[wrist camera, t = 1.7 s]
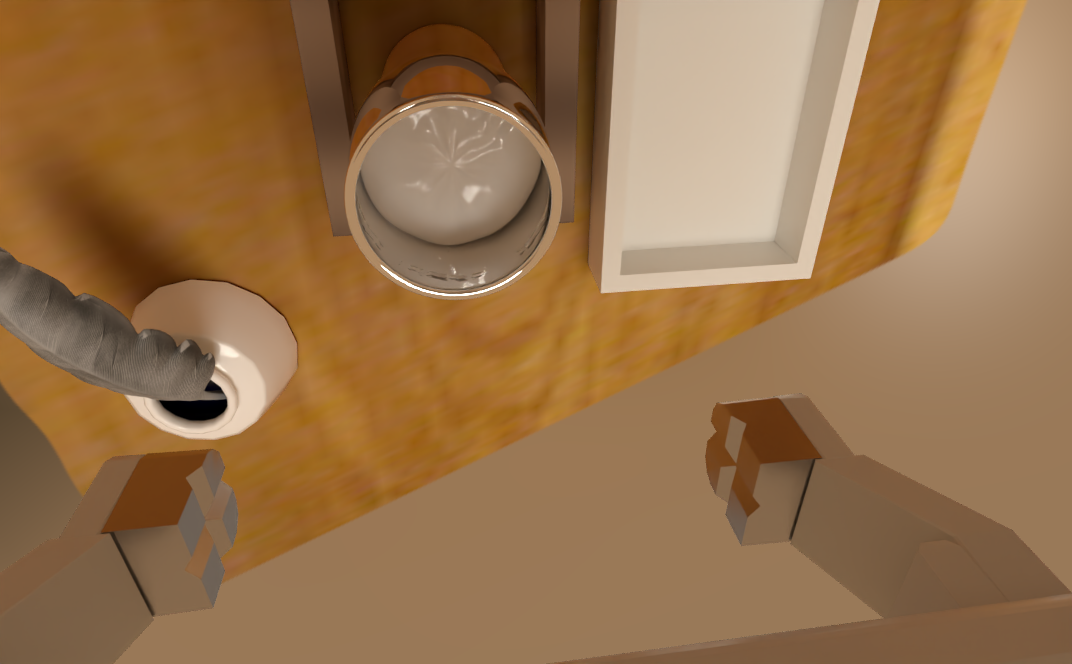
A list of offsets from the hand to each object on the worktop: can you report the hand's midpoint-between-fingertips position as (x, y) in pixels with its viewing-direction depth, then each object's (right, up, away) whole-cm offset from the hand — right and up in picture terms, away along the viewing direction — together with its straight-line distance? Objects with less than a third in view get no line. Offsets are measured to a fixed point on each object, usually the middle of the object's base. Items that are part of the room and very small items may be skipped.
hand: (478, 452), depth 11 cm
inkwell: (-19, +5, +25) cm, 32 cm away
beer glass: (-3, +14, +22) cm, 26 cm away
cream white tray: (+10, +13, +24) cm, 29 cm away
